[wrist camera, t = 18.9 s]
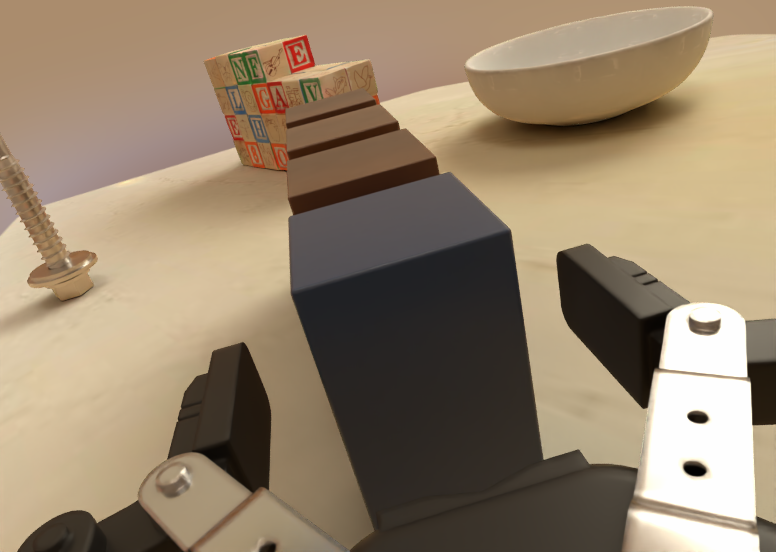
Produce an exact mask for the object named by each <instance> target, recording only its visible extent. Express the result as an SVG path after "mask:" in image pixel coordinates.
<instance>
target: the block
mask: <svg viewBox="0 0 776 552" xmlns="http://www.w3.org/2000/svg"><path fill="white" fill-rule="evenodd" d="M288 222H289V255H290V287H291V296H292V299H293V302H294V305H295V308H296V310H297V313H298V316H299V319H300V322H301V324H302V327H303V330H304V333H305V336H306V339H307V341H308V344H309V347H310V350H311V353H312V355H313V358H314V361H315V364H316V367H317V369H318V372H319V375H320V378H321V381H322V384H323V386H324V389H325V392H326V395H327V398H328V400H329V403H330V406H331V409H332V412H333V414H334V417H335V420H336V423H337V426H338V429H339V431H340V434H341V437H342V440H343V443H344V445H345V448H346V451H347V454H348V457H349V460H350V462H351V465H352V468H353V471H354V474H355V476H356V479H357V482H358V485H359V488H360V490H361V493H362V496H363V499H364V502H365V505H366V507H367V510H368V513H369V516H370V519H371V521H372V524H373V527H374V530H375V531H376V530H378V529H379V528H378V523H377V517H376V511H380V510H383V509H386V508H390V507H393V506H396V505H399V504H403V503H406V502H409V501H412V500H416V499H419V498H422V497H425V496H435V495H446V494H458V493H469V492H479V491H483V490H486V489H488V488H489V487H491V486H493V485H495V484H496V483H498V482H500V481H502V480H503V479H505V478H507V477H509V476H510V475H512V474H514V473H516V472H517V471H519V470H521V469H523V468H524V467H526V466H528V465H530V464H533V463H536V462H539V461H543V453H542V446H541V439H540V432H539V425H538V418H537V411H536V404H535V397H534V390H533V383H532V376H531V368H530V361H529V354H528V347H527V340H526V333H525V326H524V319H523V312H522V305H521V298H520V290H519V283H518V276H517V269H516V262H515V255H514V248H513V241H512V234H511V230H510V229H509V228H508V227H507V226H506V225H505V224H504V223H503V222H502V221H501V220H500V219H499V218H498V217H497V216H496V215H495V214H494V213H493V212H492V211H491V210H490V209H489V208H488V207H487V206H485V205H484V204H483V203H482V202H481V201H480V200H479V199H478V198H477V197H476V196H475V195H474V194H473V193H472V192H471V191H470V190H469V189H468V188H467V187H466V186H465V185H464V184H462V183H461V182H460V181H459V180H458V179H457V178H456V177H455V176H454V175H453V174H452V173H451V172H447V173H444V174H440V175H436V176H433V177H429V178H426V179H422V180H419V181H415V182H411V183H408V184H404V185H401V186H397V187H393V188H390V189H386V190H383V191H379V192H376V193H372V194H368V195H365V196H361V197H358V198H354V199H351V200H347V201H343V202H340V203H336V204H333V205H329V206H325V207H322V208H318V209H315V210H311V211H308V212H304V213H300V214H297V215H293V216H290V217H289V220H288Z"/></svg>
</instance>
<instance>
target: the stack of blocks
mask: <svg viewBox="0 0 776 552" xmlns="http://www.w3.org/2000/svg"><path fill="white" fill-rule="evenodd" d="M204 64H205V66H206V69H207V72H208V74H209V77H210V79H211V82H212V84H213V87H214V90H215V93H216V96H217V99H218V101H219V104H220V107H221V109H222V112H223V114H224V115H225V118H226V121H227V124H228V126H229V129H230V131H231V134H232V137H233V139H234V144H235V147H236V149H237V152H238V155H239V157H240V160H241V162H242V164H243V165H249V166H254V167H261V168H268V169H275V170H287V161H289V158H288V155H287V143H286V130H287V127H286V117H285V109H287V108H290V107H294V106H298V105H301V104H305V103H309V102H313V101H316V100H320V99H324V98H327V97H331V96H335V95H338V94H342V93H346V92H349V91H353V90H357V89H361V88H364V89H365V90H366V91H367V92H368V93H369V94H370V95H371V96H372V97H373V98H374V99H375V100H376V105H378V104H380V103H379V99H378V96H377V92H378V90H377V85H376V81H375V77H374V73H373V68H372V64H371V61H370V60H362V61H353V62H342V63H333V64H325V65H318V66H315V63H314V59H313V56H312V53H311V49H310V45H309V42H308V38H307V36H306V35H302V36H297V37H293V38H286V39H281V40H277V41H273V42H270V43H265V44H260V45H256V46H251V47H247V48H244V49H240V50H236V51H233V52H229V53H225V54H222V55H219V56H216V57H214V58H211V59H208V60H205V61H204Z"/></svg>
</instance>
